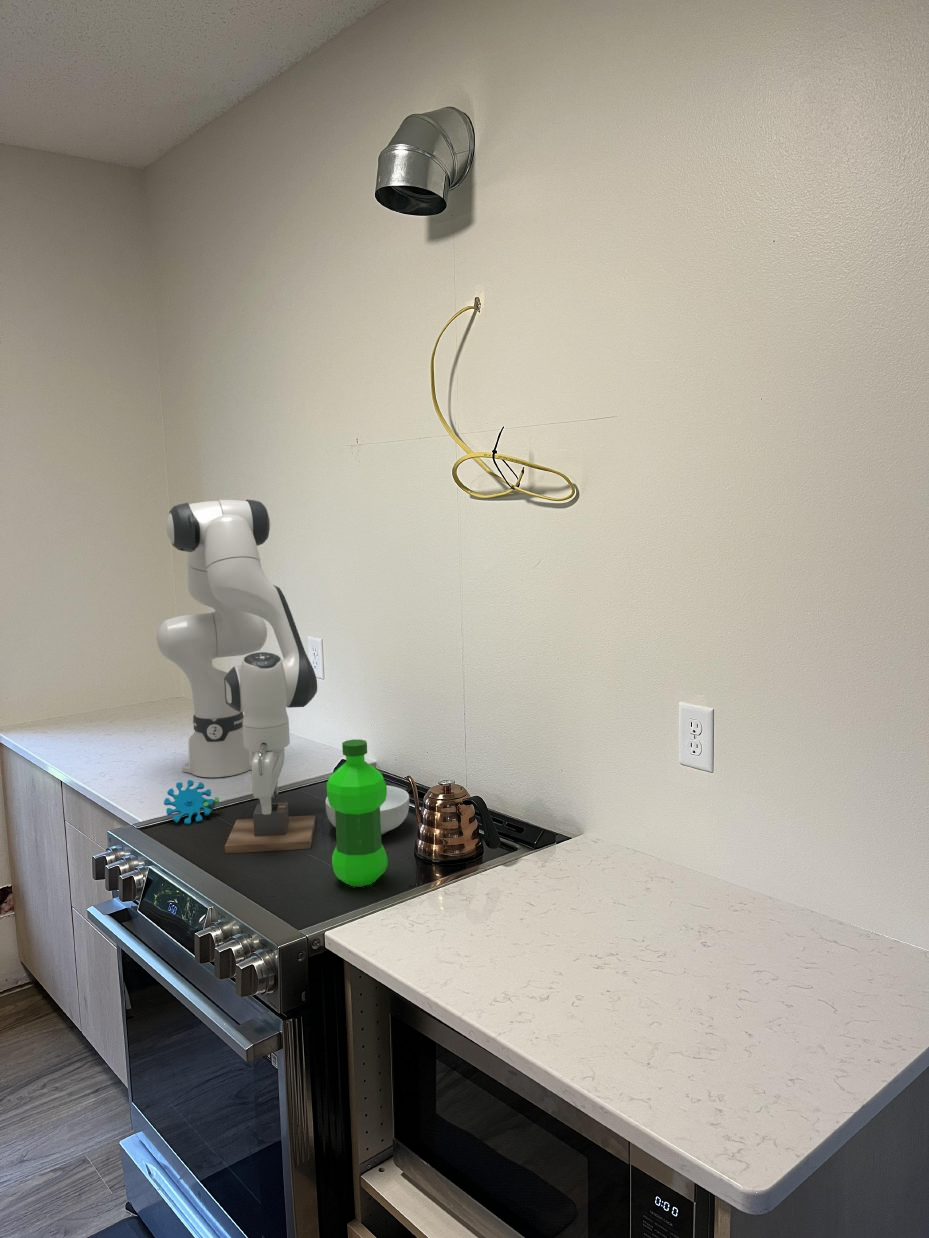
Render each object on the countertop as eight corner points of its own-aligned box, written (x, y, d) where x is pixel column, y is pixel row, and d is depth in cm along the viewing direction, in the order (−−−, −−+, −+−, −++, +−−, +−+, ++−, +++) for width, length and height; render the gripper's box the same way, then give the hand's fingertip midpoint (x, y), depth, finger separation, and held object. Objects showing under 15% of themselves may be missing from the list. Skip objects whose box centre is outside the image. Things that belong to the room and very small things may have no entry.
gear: (161, 821, 188) (166, 777, 194) (161, 833, 192) (165, 790, 198) (217, 822, 191) (220, 779, 197) (216, 834, 195) (218, 791, 201)
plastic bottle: (337, 868, 166) (331, 734, 163) (395, 869, 165) (390, 734, 161) (323, 893, 156) (316, 751, 153) (384, 894, 155) (379, 751, 152)
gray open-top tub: (258, 825, 185) (257, 802, 184) (288, 823, 185) (287, 801, 184) (254, 836, 179) (252, 813, 178) (285, 834, 179) (284, 811, 178)
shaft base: (237, 826, 188) (236, 819, 188) (315, 822, 190) (315, 815, 189) (225, 853, 174) (224, 845, 174) (310, 848, 176) (309, 841, 176)
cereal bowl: (388, 851, 174) (387, 815, 173) (311, 841, 180) (309, 806, 178) (423, 820, 189) (422, 787, 188) (351, 811, 195) (349, 779, 194)
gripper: (276, 751, 169) (280, 823, 171) (288, 722, 189) (291, 786, 192) (241, 753, 169) (246, 825, 171) (257, 723, 189) (260, 787, 191)
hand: (270, 804), depth 181 cm, fingers open, 8 cm apart
